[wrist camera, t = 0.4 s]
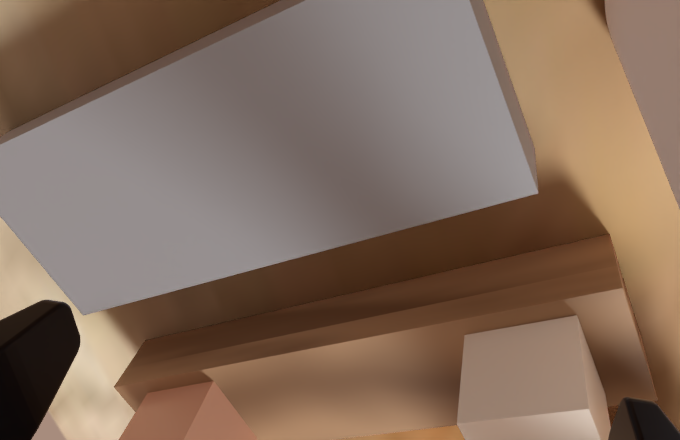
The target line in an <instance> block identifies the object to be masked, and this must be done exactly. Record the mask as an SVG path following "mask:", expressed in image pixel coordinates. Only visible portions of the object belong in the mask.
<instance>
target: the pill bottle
mask: <svg viewBox="0 0 680 440" xmlns="http://www.w3.org/2000/svg"><path fill="white" fill-rule="evenodd" d="M605 13H606V20H607V25H608V29H609V33H610V36H611V39H612V42H613V44H614V47H615V49H616V52H617V54H618V57H619V59H620V62H621V64H622V67H623V69H624V72H625V74H626V77H627V79H628V82H629V84H630V87H631V89H632V92H633V94H634V97H635V99H636V101H637V104H638V106H639V109H640V111H641V114H642V116H643V119H644V121H645V124H646V126H647V129H648V131H649V134H650V136H651V139H652V141H653V144H654V146H655V149H656V151H657V154H658V156H659V159H660V161H661V164H662V166H663V169H664V171H665V174H666V176H667V179H668V181H669V184H670V186H671V189H672V191H673V194H674V196H675V199H676V201H677V204H678V206H679V209H680V0H605Z"/></svg>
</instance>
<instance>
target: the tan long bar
mask: <svg viewBox="0 0 680 440" xmlns="http://www.w3.org/2000/svg"><path fill="white" fill-rule="evenodd" d="M575 315H577V317H578V320H579V322H580V325H581V328H582V331H583V334H584V336H585V339H586V342H587V345H588V347H589V350H590V353H591V356H592V358H593V361H594V364H595V367H596V370H597V372H598V375H599V378H600V381H601V383H602V386H603V389H604V392H605V395H606V401H607V407H611V406H619V404H620V402H621V400H622V399H623V398H624V397H634V398H640V399H646V400H651V401H658V400H657V396H656V392H655V388H654V384H653V380H652V376H651V372H650V368H649V365H648V361H647V357H646V353H645V349H644V345H643V341H642V338H641V334H640V331H639V328H638V325H637V321H636V318H635V315H634V313H633V310H632V306H631V302H630V299H629V296H628V292H627V289H626V286H625V283H624V279H623V278H622V275H621V271H620V267H619V263H618V260H617V257H616V253H615V250H614V247H613V244H612V240H611V237H610V234H606V235H602V236H598V237H593V238H589V239H585V240H580V241H576V242H572V243H567V244H563V245H559V246H554V247H550V248H546V249H541V250H537V251H532V252H528V253H524V254H519V255H515V256H511V257H506V258H502V259H498V260H493V261H489V262H485V263H480V264H476V265H472V266H467V267H463V268H459V269H454V270H450V271H446V272H441V273H437V274H433V275H428V276H424V277H420V278H415V279H411V280H406V281H402V282H398V283H393V284H389V285H385V286H380V287H376V288H372V289H367V290H363V291H359V292H354V293H350V294H346V295H341V296H337V297H333V298H328V299H324V300H320V301H315V302H311V303H307V304H302V305H298V306H294V307H289V308H285V309H280V310H276V311H272V312H267V313H263V314H259V315H254V316H250V317H246V318H241V319H237V320H233V321H228V322H224V323H220V324H215V325H211V326H207V327H202V328H198V329H194V330H189V331H185V332H181V333H176V334H172V335H168V336H163V337H159V338H154V339H150V340H146V341H145V342H144V343H143V345H142V346H141V348H140V349H139V351H138V352H137V354H136V355H135V357H134V358H133V359H132V361H131V362H130V364H129V365H128V367H127V368H126V370H125V371H124V373H123V374H122V376H121V377H120V379H119V380H118V382H117V383H116V385H115V386H114V388H115V389H116V390H117V391H118V392H119V393H120V395H121V396H122V397H123V398H124V399H125V400H126V402H127V403H128V404H129V405H130V406H131V407H132V408H133V410H134V411H135V412H136V411H137V409H138V408H139V406H140V404H141V403H142V401H143V400H144V398H145V396H146V395H147V393H150V392H156V391H161V390H167V389H172V388H178V387H183V386H189V385H194V384H200V383H205V382H211V381H214V382H215V383H216V385H217V386H218V387H219V388H220V390H221V391H222V392H223V394H224V395H225V396H226V398H227V399H228V400H229V402H230V403H231V404H232V406H233V407H234V408H235V410H236V411H237V412H238V414H239V415H240V416H241V417H242V419H243V420H244V421H245V423H246V424H247V425H248V427H249V428H250V429H251V431H252V432H253V433H254V435H255V436H256V437H257V440H336V439H345V438H353V437H361V436H370V435H378V434H386V433H395V432H403V431H411V430H420V429H428V428H436V427H445V426H453V425H457V416H458V404H459V393H460V381H461V370H462V359H463V347H464V336H465V335H468V334H473V333H479V332H485V331H490V330H496V329H501V328H507V327H513V326H518V325H524V324H530V323H535V322H541V321H547V320H552V319H558V318H564V317H569V316H575Z"/></svg>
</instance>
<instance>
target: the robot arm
mask: <svg viewBox="0 0 680 440" xmlns="http://www.w3.org/2000/svg"><path fill="white" fill-rule="evenodd" d="M79 347H80V335H79V332H78V329H77V326H76V323H75V320H74V316H73V313H72V310H71V308H70V306H69V305H68V304H66V303H64V302H58V301H52V300H42V301H40V302H38V303H35V304H33V305H31V306H29V307H27V308H25V309H23V310H21V311H19V312H17V313H15V314H13V315H10V316H8V317H6V318H4V319H2V320H0V440H31V439H32V437H33V436H34V434H35V433H36V431H37V429H38V428H39V425H40V424H41V422H42V420H43V418H44V417H45V415H46V413H47V411H48V409H49V407H50V405H51V403H52V401H53V399H54V397H55V395H56V393H57V391H58V389H59V388H60V386H61V384H62V382H63V380H64V378H65V376H66V374H67V372H68V370H69V368H70V366H71V364H72V362H73V360H74V358H75V356H76V354H77V352H78V350H79ZM608 440H680V432H679V431H678V429H677V428H676V427H675V426H674V424H673V423H672V422H671V421H670V419H669V418H668V417H667V416H666V414H665V413H664V412H663V411H662V409H661V408H660V407H659V406H658V405H657V404H656V403H655V402H653V401H651V400H646V399H640V398H634V397H624V398H623V399H622V400H621V402H620V404H619V407H618V410H617V413H616V416H615V418H614V421H613V424H612V427H611V429H610V433H609V437H608Z"/></svg>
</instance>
